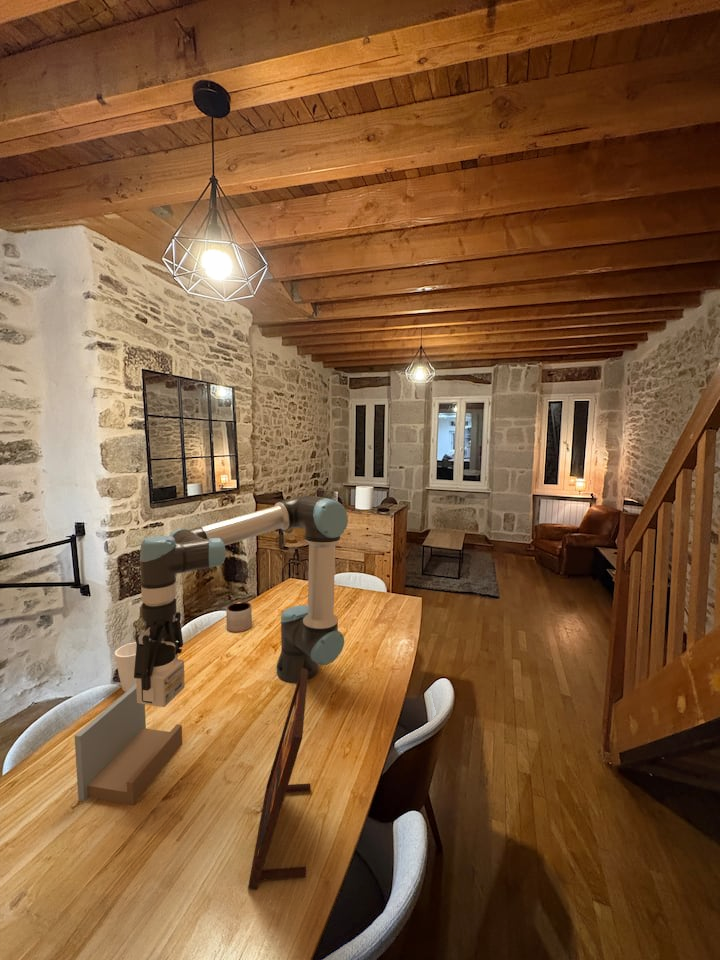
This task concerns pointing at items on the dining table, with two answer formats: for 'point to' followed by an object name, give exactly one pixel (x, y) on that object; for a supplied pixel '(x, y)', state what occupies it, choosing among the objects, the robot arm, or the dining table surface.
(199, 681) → the dining table surface
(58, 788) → the dining table surface
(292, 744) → the picture frame
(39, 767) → the dining table surface
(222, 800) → the dining table surface
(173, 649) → the container
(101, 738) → the wall shelf
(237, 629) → the planter
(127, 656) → the foam cup
